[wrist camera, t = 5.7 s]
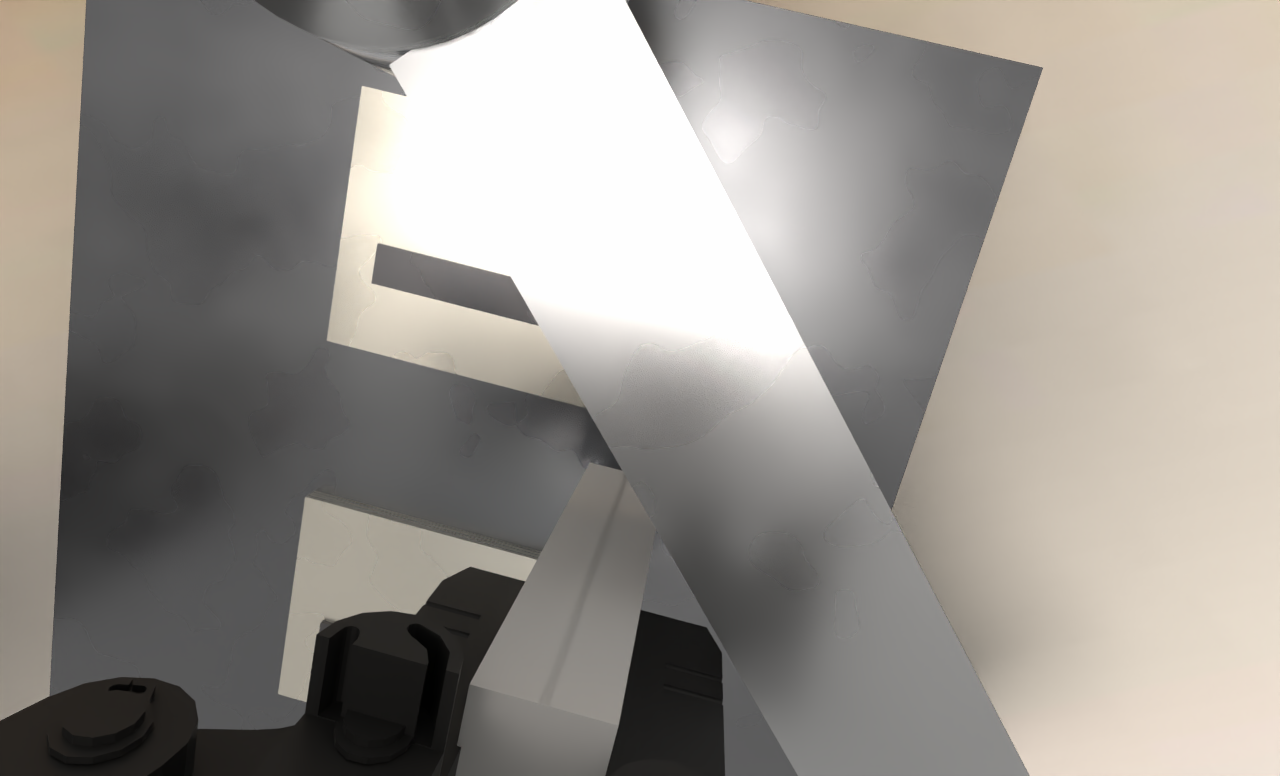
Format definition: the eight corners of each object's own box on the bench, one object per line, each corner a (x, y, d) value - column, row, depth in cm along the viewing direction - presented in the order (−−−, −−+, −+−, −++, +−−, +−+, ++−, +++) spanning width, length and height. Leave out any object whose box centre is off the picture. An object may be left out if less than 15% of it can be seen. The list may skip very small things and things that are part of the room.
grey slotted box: (143, 637, 20) (-84, 796, 15) (207, -102, 16) (-81, -296, 10) (748, 810, 20) (762, 1053, 14) (988, 76, 15) (1158, -26, 9)
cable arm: (909, 978, 13) (983, 1257, 9) (280, -112, 10) (50, -300, 7) (1153, 901, 12) (1335, 1174, 8) (539, -310, 9) (432, -642, 6)
